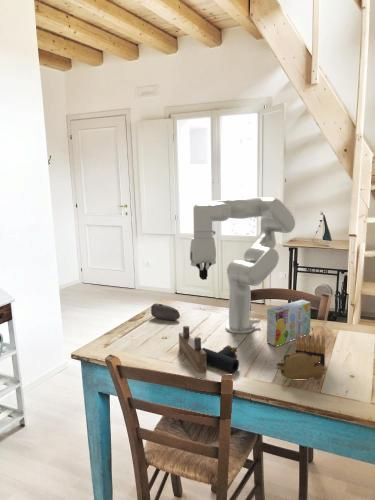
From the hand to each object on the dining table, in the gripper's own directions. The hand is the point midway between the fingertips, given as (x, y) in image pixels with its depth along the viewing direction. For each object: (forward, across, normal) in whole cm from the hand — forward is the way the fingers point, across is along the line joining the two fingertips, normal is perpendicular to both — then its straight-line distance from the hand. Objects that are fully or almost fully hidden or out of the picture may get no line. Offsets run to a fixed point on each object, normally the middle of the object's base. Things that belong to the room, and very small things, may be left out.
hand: (203, 278), depth 166 cm
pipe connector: (+28, +1, +21) cm, 35 cm away
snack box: (+27, -34, +12) cm, 45 cm away
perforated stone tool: (+27, +7, -31) cm, 42 cm away
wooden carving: (+27, -18, +42) cm, 53 cm away
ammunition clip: (+27, -28, +34) cm, 52 cm away
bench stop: (+27, +11, +14) cm, 33 cm away
